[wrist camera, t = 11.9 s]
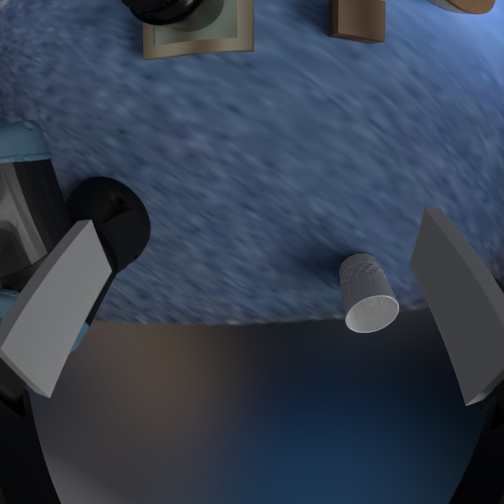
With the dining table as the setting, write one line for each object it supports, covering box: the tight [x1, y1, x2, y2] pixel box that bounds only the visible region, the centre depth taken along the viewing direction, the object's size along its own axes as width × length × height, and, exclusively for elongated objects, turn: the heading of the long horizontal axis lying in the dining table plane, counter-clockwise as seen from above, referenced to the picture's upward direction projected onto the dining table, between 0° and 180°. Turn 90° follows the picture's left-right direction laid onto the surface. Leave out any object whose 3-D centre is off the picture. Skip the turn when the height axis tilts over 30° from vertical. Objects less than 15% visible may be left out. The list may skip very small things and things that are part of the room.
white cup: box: [339, 253, 399, 333], centre depth 41 cm, size 8×8×10 cm
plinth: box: [143, 0, 254, 60], centre depth 22 cm, size 12×12×3 cm
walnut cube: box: [329, 0, 385, 44], centre depth 21 cm, size 5×5×5 cm
